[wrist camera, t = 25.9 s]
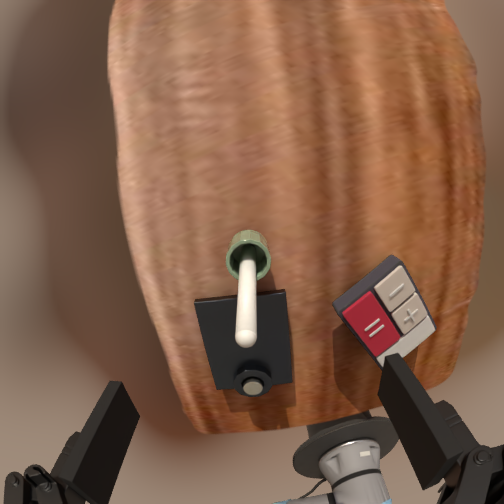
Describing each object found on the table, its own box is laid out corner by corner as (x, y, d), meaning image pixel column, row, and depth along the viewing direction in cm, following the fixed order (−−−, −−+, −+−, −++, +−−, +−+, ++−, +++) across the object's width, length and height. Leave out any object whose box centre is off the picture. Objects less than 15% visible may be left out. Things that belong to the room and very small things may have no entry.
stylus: (256, 253, 35) (258, 351, 22) (242, 254, 35) (236, 352, 22) (254, 240, 34) (255, 337, 21) (239, 242, 34) (232, 339, 22)
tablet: (291, 381, 41) (293, 392, 39) (218, 388, 42) (216, 399, 39) (284, 288, 36) (287, 296, 34) (195, 298, 37) (191, 307, 34)
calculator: (404, 260, 31) (439, 331, 34) (389, 251, 36) (427, 318, 38) (337, 315, 33) (385, 375, 36) (329, 301, 38) (376, 360, 40)
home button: (263, 388, 39) (263, 394, 38) (244, 389, 39) (244, 395, 38) (261, 375, 38) (261, 381, 37) (242, 377, 38) (241, 383, 37)
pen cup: (270, 264, 36) (273, 279, 31) (231, 269, 36) (229, 284, 31) (265, 227, 34) (268, 236, 29) (226, 232, 34) (222, 242, 30)
